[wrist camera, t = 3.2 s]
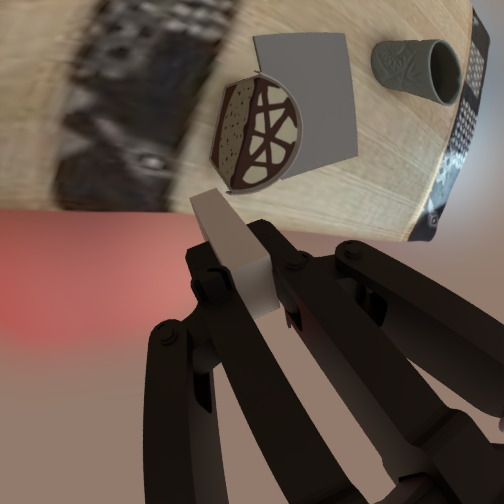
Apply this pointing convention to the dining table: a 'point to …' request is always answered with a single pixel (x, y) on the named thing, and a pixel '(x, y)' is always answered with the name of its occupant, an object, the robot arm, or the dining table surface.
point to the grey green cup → (419, 69)
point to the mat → (315, 93)
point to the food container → (256, 134)
